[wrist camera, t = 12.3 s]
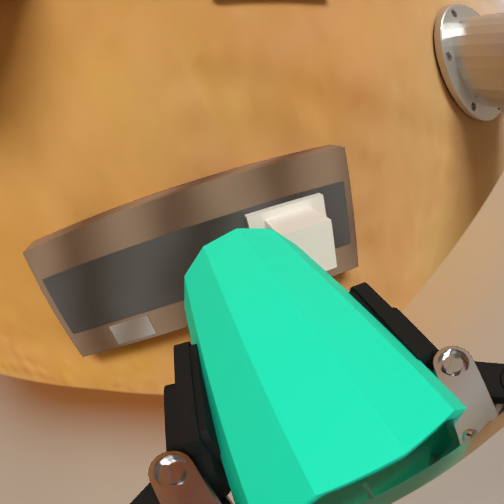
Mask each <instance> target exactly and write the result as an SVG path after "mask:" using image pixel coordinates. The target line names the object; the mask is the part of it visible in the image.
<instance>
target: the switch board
mask: <svg viewBox="0 0 504 504" xmlns="http://www.w3.org/2000/svg"><path fill="white" fill-rule="evenodd" d="M316 193H320V194H323V197H324V204H325V210H326V217H328V218H329V219H331V222H332V229H333V237H334V245H335V254H336V262H337V267H336V268H333V269H331V270H328V271H326V272H327V273H328V274H329V275H331V276H332V277H333V276H335V275H338V274H340V273H343V272H346V271H348V270H351V269H353V268H356V267H358V255H357V243H356V232H355V221H354V212H353V203H352V195H351V187H350V179H349V172H348V165H347V159H346V152H345V147H340V146H334V145H327V146H323V147H318V148H314V149H309V150H305V151H301V152H296V153H292V154H288V155H284V156H280V157H276V158H272V159H268V160H265V161H261V162H257V163H253V164H250V165H246V166H242V167H239V168H235V169H232V170H228V171H225V172H221V173H218V174H215V175H211V176H208V177H205V178H201V179H198V180H195V181H192V182H189V183H186V184H182V185H179V186H176V187H173V188H170V189H167V190H164V191H161V192H158V193H155V194H152V195H150V196H147V197H144V198H141V199H138V200H135V201H133V202H130V203H127V204H124V205H122V206H119V207H116V208H114V209H111V210H108V211H106V212H103V213H101V214H98V215H96V216H93V217H91V218H88V219H86V220H83V221H81V222H78V223H76V224H73V225H71V226H69V227H66V228H64V229H61V230H59V231H57V232H54V233H52V234H50V235H48V236H45V237H43V238H41V239H39V240H36V241H34V242H33V243H32V244H31V245H30V246H29V247H28V248H27V249H26V250H25V251H24V252H23V254H24V256H25V258H26V260H27V262H28V264H29V267H30V269H31V271H32V273H33V275H34V277H35V278H36V280H37V282H38V284H39V286H40V288H41V290H42V292H43V294H44V295H45V297H46V299H47V301H48V303H49V304H50V306H51V308H52V310H53V311H54V313H55V315H56V316H57V318H58V320H59V321H60V323H61V325H62V326H63V328H64V329H65V331H66V333H67V334H68V336H69V337H70V339H71V340H72V342H73V343H74V345H75V346H76V348H77V349H78V351H79V352H80V354H81V355H82V357H84V356H88V355H92V354H96V353H99V352H103V351H107V350H110V349H114V348H118V347H121V346H125V345H128V344H132V343H135V342H139V341H142V340H146V339H149V338H152V337H156V336H159V335H162V334H166V333H169V332H172V331H176V330H179V329H182V328H185V327H188V322H187V317H186V312H185V307H184V276H185V274H186V273H187V271H188V269H189V268H190V266H191V265H192V263H193V262H194V260H195V259H196V257H197V255H198V254H199V252H200V251H201V249H202V248H203V246H205V245H207V244H209V243H210V242H212V241H214V240H216V239H218V238H220V237H221V236H223V235H225V234H227V233H229V232H231V231H233V230H234V229H236V228H248V227H247V223H246V219H245V214H249V213H252V212H255V211H258V210H262V209H265V208H268V207H272V206H275V205H278V204H282V203H285V202H288V201H292V200H295V199H299V198H302V197H306V196H309V195H313V194H316Z"/></svg>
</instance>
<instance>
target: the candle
mask: <svg viewBox="0 0 504 504" xmlns="http://www.w3.org/2000/svg"><path fill="white" fill-rule="evenodd" d="M184 307H185V312H186V317H187V322H188V327H189V332H190V337H191V342H192V345H193V344H197V348H198V353H199V358H200V363H201V368H202V373H203V378H204V383H205V388H206V392H207V397H208V402H209V406H210V410H211V415H212V419H213V423H214V428H215V432H216V436H217V440H218V444H219V448H220V452H221V454H220V457H221V460H222V463H223V467H224V470H225V473H226V476H227V479H228V483H229V486H230V489H231V492H232V495H233V498H234V501H235V504H360V503H362V502H364V501H366V500H369V499H371V498H373V497H375V496H377V495H379V494H381V493H383V492H385V491H387V490H389V489H391V488H393V487H395V486H397V485H399V484H400V483H402V482H404V481H406V480H408V479H409V478H411V477H413V476H415V475H416V474H418V473H420V472H421V471H423V470H425V469H426V468H428V467H429V466H428V461H429V458H430V454H431V453H435V454H442V453H443V452H444V451H445V450H446V448H447V447H448V445H449V444H450V442H451V441H452V440H450V437H449V434H448V430H447V427H446V422H447V421H448V420H450V419H454V418H457V417H458V416H459V415H460V414H461V413H462V412H463V411H464V410H465V409H466V407H465V406H464V405H463V403H462V402H461V401H460V400H459V399H458V398H457V397H456V396H455V395H454V394H453V393H452V392H451V391H450V390H449V389H448V388H447V387H446V386H445V385H444V384H443V383H442V382H441V381H440V380H439V379H438V378H437V377H436V376H435V375H434V374H433V373H432V372H431V371H430V370H429V369H428V368H427V367H426V366H425V365H424V364H423V363H422V362H421V361H420V360H418V359H416V357H415V356H414V355H413V354H412V353H411V352H410V351H409V350H408V349H407V348H406V347H405V346H404V345H403V344H402V343H401V342H400V341H399V340H398V339H396V338H395V337H394V336H393V335H392V334H391V333H390V332H389V331H388V330H387V329H386V328H385V327H384V326H383V325H382V324H381V323H380V322H379V321H378V320H377V319H376V318H375V317H374V316H373V315H372V314H370V313H369V312H368V311H367V310H366V309H365V308H364V307H363V306H362V305H361V304H360V303H359V302H358V301H357V300H356V299H355V298H354V297H352V296H351V295H350V294H349V292H348V291H347V290H346V289H345V288H344V287H342V286H341V285H340V284H339V283H338V282H337V281H336V280H335V279H334V278H333V277H332V276H331V275H329V274H328V273H327V272H326V271H325V270H324V269H323V268H322V267H321V266H320V265H318V264H317V263H316V262H315V261H314V260H313V259H312V258H311V257H310V256H309V255H307V254H306V253H305V252H304V251H303V250H302V249H301V248H300V247H298V246H297V245H296V244H294V243H293V242H291V241H290V240H288V239H287V238H285V237H284V236H282V235H281V234H279V233H278V232H276V231H274V230H273V229H258V228H236V229H234V230H233V231H231V232H229V233H227V234H225V235H223V236H221V237H220V238H218V239H216V240H214V241H212V242H210V243H209V244H207V245H205V246H203V248H202V249H201V251H200V252H199V254H198V255H197V257H196V259H195V260H194V262H193V263H192V265H191V266H190V268H189V269H188V271H187V273H186V274H185V276H184Z"/></svg>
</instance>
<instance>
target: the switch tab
mask: <svg viewBox="0 0 504 504" xmlns="http://www.w3.org/2000/svg"><path fill="white" fill-rule="evenodd" d="M245 219H246V223H247V227H248V228H258V229H273V230H274V231H276V232H278V233H279V234H281V235H282V236H284V237H285V238H287V239H288V240H290V241H291V242H293V243H294V244H296V245H297V246H298V247H300V248H301V249H302V250H303V251H304V252H305V253H306V254H307V255H309V256H310V257H311V258H312V259H313V260H314V261H315V262H316V263H317V264H318V265H320V266H321V267H322V268H323V269H324V270H325V271H328V270H331V269H333V268H336V267H337V262H336V254H335V245H334V237H333V229H332V222H331V219H329V218H328V217H326V210H325V204H324V197H323V194H320V193H316V194H313V195H309V196H306V197H302V198H299V199H295V200H292V201H288V202H285V203H282V204H278V205H275V206H272V207H268V208H265V209H262V210H258V211H255V212H252V213H249V214H245Z"/></svg>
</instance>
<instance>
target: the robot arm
mask: <svg viewBox="0 0 504 504" xmlns="http://www.w3.org/2000/svg"><path fill="white" fill-rule="evenodd" d="M434 40H435V50H436V55H437V60H438V63H439V67H440V70H441V73H442V76H443V78H444V81H445V83H446V85H447V87H448V89H449V91H450V93H451V95H452V97H453V98H454V100H455V101H456V103H457V104H458V105H459V107H460V108H461V109H462V110H463V111H464V112H465V113H466V114H468V115H469V116H470V117H472V118H474V119H477V120H483V121H490V120H492V119H494V118H496V117H497V116H498V115H499V114H500V112H501V110H502V108H504V13H496V14H487V15H479V14H478V13H477V12H476V11H474V10H473V9H472V8H470V7H468V6H466V5H462V4H453V5H449V6H446V7H444V8H443V9H442V10H441V11H440V12H439V14H438V16H437V18H436V22H435V30H434ZM349 294H350V295H351V296H352V297H354V298H355V299H356V300H357V301H358V302H359V303H360V304H361V305H362V306H363V307H364V308H365V309H366V310H367V311H368V312H369V313H370V314H372V315H373V316H374V317H375V318H376V319H377V320H378V321H379V322H380V323H381V324H382V325H383V326H384V327H385V328H386V329H387V330H388V331H389V332H390V333H391V334H392V335H393V336H394V337H395V338H396V339H398V340H399V341H400V342H401V343H402V344H403V345H404V346H405V347H406V348H407V349H408V350H409V351H410V352H411V353H412V354H413V355H414V356H415V357H416V359H418V360H420V361H421V362H422V363H423V364H424V365H425V366H426V367H427V368H428V369H429V370H430V371H431V372H432V373H433V374H434V375H435V376H436V377H437V378H438V379H439V380H440V381H441V382H442V383H443V384H444V385H445V386H446V387H447V388H448V389H449V390H450V391H451V392H452V393H453V394H454V395H455V396H456V397H457V398H458V399H459V400H460V401H461V402H462V403H463V405H464V406H465V407H466V409H465V410H464V411H463V412H462V413H461V414H460V415H459V416H458V417H457V418H454V419H450V420H448V421H447V422H446V427H447V430H448V434H449V437H450V440H452V441H451V442H450V444H449V445H448V447H447V448H446V450H445V451H444V452H443V453H442V454H435V453H431V454H430V458H429V461H428V466H429V467H428V468H426V469H425V470H423V471H421V472H420V473H418V474H416V475H415V476H413V477H411V478H409V479H408V480H406V481H404V482H402V483H400V484H399V485H397V486H395V487H393V488H391V489H389V490H387V491H385V492H383V493H381V494H379V495H377V496H375V497H373V498H371V499H369V500H366V501H364V502H362V503H360V504H504V364H497V363H486V362H476V361H474V360H473V358H472V356H471V355H470V353H469V352H468V351H466V350H465V349H463V348H460V347H458V346H448V347H445V348H442V349H441V350H438V349H437V348H436V347H435V346H434V345H433V344H432V343H431V342H430V341H429V340H428V339H427V338H426V337H425V336H424V335H423V334H422V333H421V332H420V331H419V330H418V329H417V328H416V327H415V326H414V325H413V324H412V323H411V322H410V321H409V320H408V319H407V318H406V317H405V316H404V315H403V314H402V313H401V312H400V311H399V310H398V309H397V308H394V307H393V308H392V307H391V306H390V305H389V304H388V303H387V302H386V301H385V300H383V299H382V298H381V297H380V296H379V295H378V294H377V293H376V292H375V291H374V290H373V289H372V288H371V287H370V286H369V285H368V284H367V283H365V282H364V283H361V284H359V285H356V286H353V287H351V289H350V292H349ZM174 370H175V384H171V385H167V386H165V387H164V411H165V433H166V450H167V452H165V453H162V454H160V455H159V456H157V457H156V458H155V459H154V460H153V461H152V462H151V464H150V467H149V472H148V475H149V480H150V483H149V484H148V485H147V486H146V487H145V488H144V490H143V491H142V492H141V493H140V494H139V495H138V496H137V497H136V498H135V499H134V500H133V501H132V502H131V503H130V504H233V503H232V501H231V500H230V499H229V497H228V496H227V495H228V494H229V492H230V491H231V489H230V486H229V483H228V479H227V476H226V473H225V470H224V467H223V463H222V460H221V457H220V454H221V452H220V448H219V444H218V440H217V436H216V432H215V428H214V423H213V419H212V415H211V410H210V406H209V402H208V397H207V392H206V388H205V383H204V378H203V373H202V368H201V363H200V358H199V353H198V348H197V344H193V345H191V343H190V342H185V343H182V344H178V345H175V346H174Z"/></svg>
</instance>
